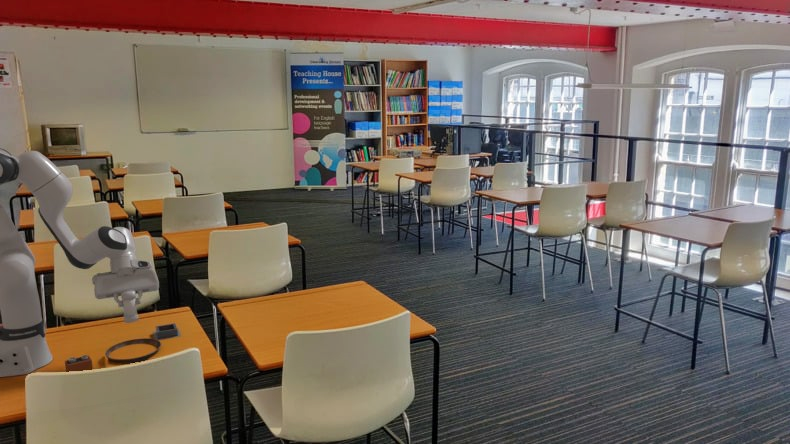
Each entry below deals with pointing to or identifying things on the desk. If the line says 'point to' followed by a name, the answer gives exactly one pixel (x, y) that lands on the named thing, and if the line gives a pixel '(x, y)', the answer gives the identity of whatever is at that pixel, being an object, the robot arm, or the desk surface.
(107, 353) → the dark grey ring
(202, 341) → the desk surface
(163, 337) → the dark grey square tray
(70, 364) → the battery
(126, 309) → the cylinder
